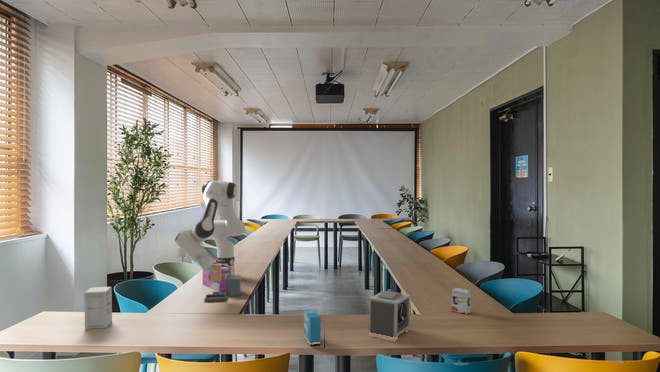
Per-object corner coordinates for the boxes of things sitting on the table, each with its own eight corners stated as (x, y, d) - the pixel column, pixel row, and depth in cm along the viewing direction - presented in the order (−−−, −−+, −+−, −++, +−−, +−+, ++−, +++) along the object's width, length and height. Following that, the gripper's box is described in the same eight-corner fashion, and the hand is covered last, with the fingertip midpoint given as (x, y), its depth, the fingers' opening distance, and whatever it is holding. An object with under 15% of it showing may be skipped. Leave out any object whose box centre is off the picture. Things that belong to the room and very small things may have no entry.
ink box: (451, 311, 240) (451, 289, 239) (455, 309, 243) (455, 287, 243) (466, 315, 234) (466, 292, 233) (470, 313, 237) (471, 290, 237)
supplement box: (112, 321, 217) (112, 286, 217) (106, 328, 208) (106, 291, 208) (91, 322, 216) (90, 287, 215) (83, 329, 207) (83, 292, 206)
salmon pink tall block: (209, 281, 255) (209, 265, 254) (210, 279, 258) (210, 263, 258) (220, 281, 256) (221, 264, 255) (221, 279, 259) (221, 263, 258)
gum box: (201, 284, 293) (201, 262, 292) (212, 282, 298) (212, 261, 298) (219, 291, 275) (219, 268, 275) (231, 289, 280) (231, 267, 280)
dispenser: (211, 296, 263) (211, 279, 262) (213, 292, 272) (213, 275, 272) (239, 296, 265) (240, 278, 265) (240, 291, 275) (240, 274, 274)
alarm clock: (394, 342, 195) (395, 299, 195) (366, 336, 202) (367, 294, 202) (410, 329, 211) (411, 290, 210) (384, 324, 218) (385, 286, 217)
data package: (303, 337, 200) (303, 309, 200) (313, 336, 201) (313, 308, 201) (310, 347, 188) (310, 318, 188) (320, 346, 190) (321, 317, 189)
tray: (204, 302, 252) (204, 298, 252) (206, 297, 261) (206, 294, 261) (225, 301, 253) (225, 298, 253) (226, 297, 262) (226, 294, 262)
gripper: (200, 253, 245) (219, 271, 247) (205, 247, 265) (222, 264, 267) (191, 262, 245) (210, 280, 246) (197, 255, 265) (214, 272, 266)
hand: (216, 271), depth 257 cm, fingers closed on salmon pink tall block, 3 cm apart
